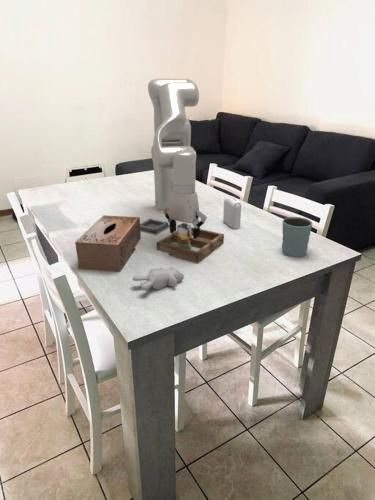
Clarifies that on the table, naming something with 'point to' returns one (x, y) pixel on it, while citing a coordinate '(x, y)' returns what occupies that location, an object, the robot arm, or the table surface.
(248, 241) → the table surface
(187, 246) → the cell
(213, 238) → the wooden divided tray
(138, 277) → the bunny figurine
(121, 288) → the table surface
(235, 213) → the photo printer
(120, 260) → the tissue box cover
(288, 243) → the green tapered cup
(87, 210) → the table surface
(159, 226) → the tester cradle
